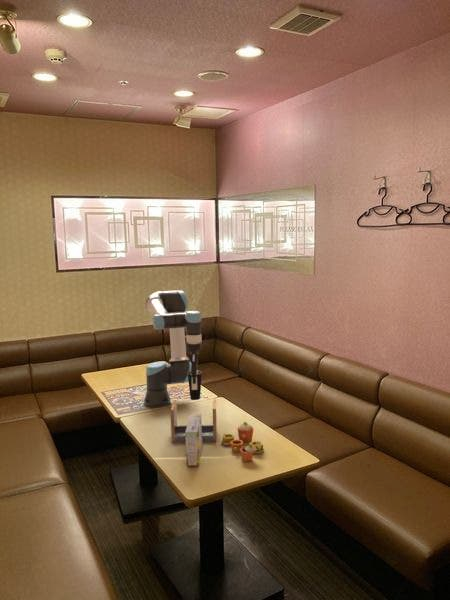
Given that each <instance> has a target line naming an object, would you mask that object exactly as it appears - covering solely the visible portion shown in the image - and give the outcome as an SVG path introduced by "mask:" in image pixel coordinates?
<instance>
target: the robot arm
mask: <svg viewBox="0 0 450 600" xmlns="http://www.w3.org/2000/svg"><path fill="white" fill-rule="evenodd" d="M145 308H146V310H147V311H148V312H149V313H151V315H152V326H153V329H154V330H167V329H169V340H170V342H169V343H170V355H171V358H170V359H169V360H168V361H169V363H167V362H166V361H154V362H151V363H149V364H148V365H147V366H146V367H145V376H146V377H145V378H146V379H145V380H146V392H145V396H144V399H143V404H144V406H146V407H149V408H162V407H166V406H168V405H170V404H171V402H172V401H171V400H172V399H171V396H170V394H169V391H168V385H174V384H184V383H185V384H186V383H189V382H188V374H187V372H188V371H190V370H191V376H190V377H192V390H197V370H199V368H198V366H199V365H198V363H199V351H201V350H203V349H202V337H203V335H202V316H201V315H202V314H201V312H200V311H198V310H190V311H187V310H188V309H189V301H188V297H187V294H186V293H185V291H184V290H177V289H176V290H160V291H156V292H153V293H151V294H150V295H149V296H148V297H147V298H146V300H145ZM185 333H186V334H185ZM187 351H188V352H190V355H189V357H190V358H189V357H188V356H187Z"/></svg>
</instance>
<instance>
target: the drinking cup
mask: <svg viewBox="0 0 450 600" xmlns="http://www.w3.org/2000/svg"><path fill="white" fill-rule="evenodd" d="M187 374H188V382H187V383H188V387H189V397H190V400H191V401H199V400H200V399H201V393H202V391H201V390H202V389H201V388H202V376H203V375H202V374H203V371H201V370H199V369H198V370H197V390H192V377H190V376H191V370H190V371H188V372H187Z"/></svg>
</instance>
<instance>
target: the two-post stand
mask: <svg viewBox="0 0 450 600" xmlns="http://www.w3.org/2000/svg"><path fill="white" fill-rule="evenodd" d="M177 404H178V403H177V400H176V399H175V400H173V401H172V403H171V408H170V430H171V431H170V432H171V433H170V434H171V438H170V439H171V444H178V443H179V444H181V443H183V444H184V443H185V444H186V438H185V431H186V428H187V425H188V424H187V425H178V411H177V410H178V409H177V407H178V406H177ZM217 421H218V420H217V398H216V399H212V424H202V443H210V442H211V443H216V442H217V441H218V440H217V439H218V436H217V435H218V430H217V429H218V425H217V424H218V423H217Z"/></svg>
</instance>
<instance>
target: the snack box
mask: <svg viewBox="0 0 450 600" xmlns="http://www.w3.org/2000/svg"><path fill="white" fill-rule="evenodd" d="M202 425H203V424H202V414H201V413H191V414H190V415H189V418H188V421H187V428H186V431H185V438H186V443H185V453H186V454H185V455H186V466H187V467H197V466H199V465H200V459H201V454H202V449H203V446H204V445H203V443H204V442H202Z"/></svg>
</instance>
